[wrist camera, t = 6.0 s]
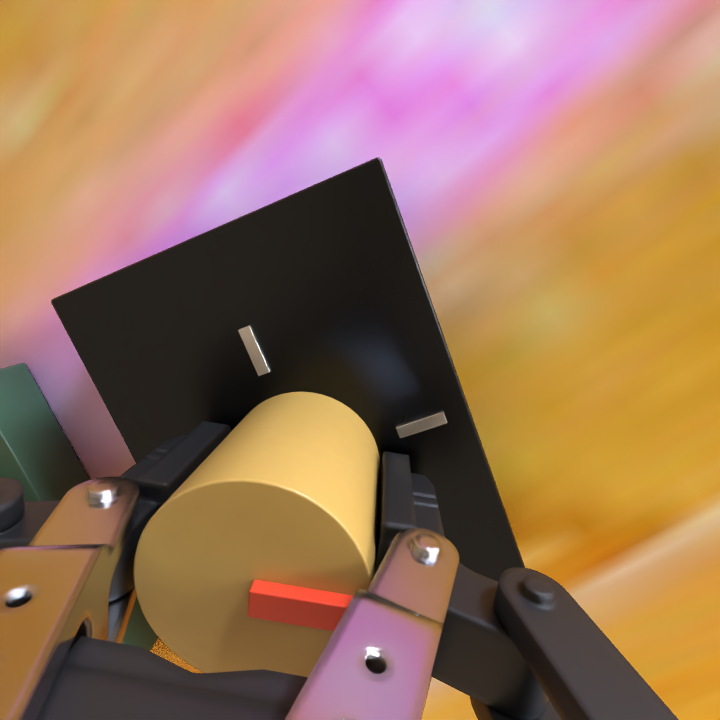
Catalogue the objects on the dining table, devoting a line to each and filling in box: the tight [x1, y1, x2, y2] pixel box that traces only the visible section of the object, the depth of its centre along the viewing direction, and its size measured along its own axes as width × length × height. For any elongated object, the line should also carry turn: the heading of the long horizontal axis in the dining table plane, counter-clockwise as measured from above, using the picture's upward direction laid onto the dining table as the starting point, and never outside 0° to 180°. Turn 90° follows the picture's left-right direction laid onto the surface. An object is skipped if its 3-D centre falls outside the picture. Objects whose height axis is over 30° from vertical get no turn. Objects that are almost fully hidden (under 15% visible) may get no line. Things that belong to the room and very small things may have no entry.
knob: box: [133, 392, 380, 677], centre depth 10 cm, size 4×4×5 cm
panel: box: [51, 158, 525, 582], centre depth 14 cm, size 14×10×3 cm
